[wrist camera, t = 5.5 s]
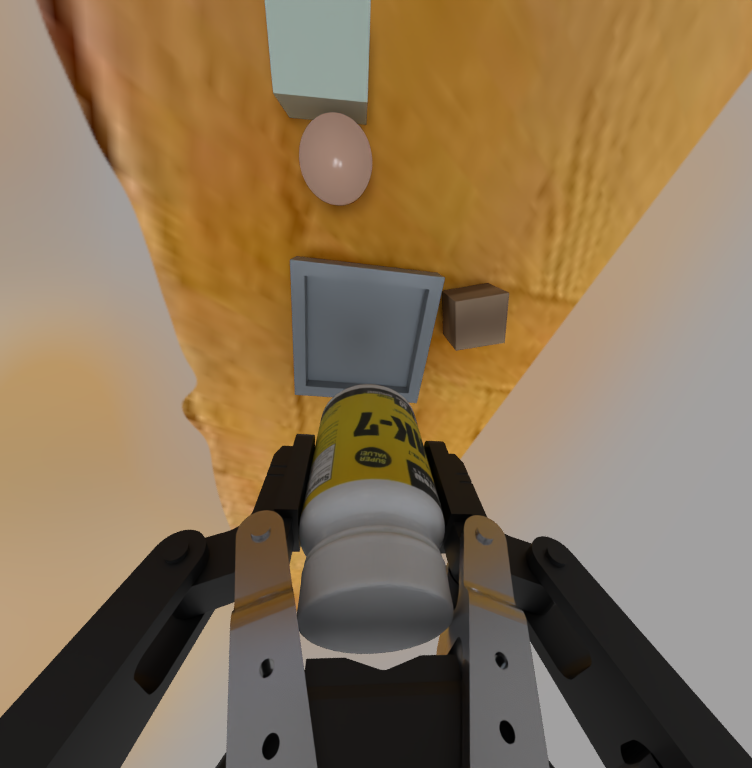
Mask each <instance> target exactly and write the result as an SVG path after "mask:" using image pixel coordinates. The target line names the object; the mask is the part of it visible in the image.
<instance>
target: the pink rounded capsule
mask: <svg viewBox="0 0 752 768" xmlns="http://www.w3.org/2000/svg"><path fill="white" fill-rule="evenodd" d="M299 161H300V167H301V171H302V175H303V177H304V179H305V182H306V183H307V185H308V187H309V188H310V189H311V191H312V192H313V193H314V194H315V195H316V196H317V197H318V198H320V199H321V200H323V201H325V202H327V203H330V204H334V205H348V204H351V203H353V202H355V201H356V200H357V199H358V198H359V197H360V196H361V195H362V193H363V192H364V190H365V188H366V187H367V185H368V183H369V180H370V176H371V172H372V153H371V148H370V145H369V142H368V140H367V137H366V135H365V133H364V132H363V130H362V129H361V127H360V126H359V125H358V124H357V123H356V122H355V121H354V120H352V119H351V118H350V117H348V116H346V115H344V114H341V113H336V112H329V113H324V114H321V115H319V116H318V117H316V118H315V119H314V120H312V121H311V122H310V124H309V125H308V126H307V128H306V129H305V131H304V133H303V136H302V138H301V142H300V148H299Z"/></svg>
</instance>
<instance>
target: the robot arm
mask: <svg viewBox="0 0 752 768" xmlns="http://www.w3.org/2000/svg"><path fill="white" fill-rule="evenodd" d="M424 449H425V453H426V456H427V460H428V463H429V466H430V470H431V474H432V477H433V480H434V484H435V487H436V491H437V495H438V498H439V501H440V504H441V508H442V513H443V517H444V523H445V534H444V539H443V543H442V545H441V547H440V549H439V550H440V553H446V557H447V561H448V563H447V565H446V572H447V577H448V582H449V588H450V594H451V598H452V603H453V609H454V614H453V620H452V623H451V624H450V626H449V627H448V628H447V629H446V630H445V631H444V632H443V633H441V634H440V637H439V641H438V647H437V654H436V655H422V656H418V657H416V658H414V659H412V660H409V661H407V662H404V663H402V664H400V665H397V666H395V667H392V668H390V669H387V670H379V669H377V668H373V667H371V666H368V665H365V664H362V663H359V662H356V661H353V660H350V659H347V658H320V659H306V666H305V670H304V665H303V658H302V651H301V643H300V635H299V628H298V620H297V613H296V606H295V598H294V592H293V587H292V581H291V573H290V566H289V565H290V560H291V555H292V552H300V546H301V544H300V540H299V522H300V516H301V511H302V507H303V502H304V497H305V493H306V488H307V483H308V479H309V474H310V469H311V464H312V459H313V455H314V450H315V435H308V434H297V435H296V438H295V441H294V444H293V446H282V447H281V448H280V449H279V450H278V451H277V452H276V453H275V454H274V456H273V459H272V462H271V464H270V467H269V470H268V472H267V476H266V478H265V480H264V483H263V486H262V489H261V491H260V494H259V497H258V499H257V502H256V505H255V507H254V510H253V512H252V514H251V515H250V516H248V517H247V518H246V519H245V520H244V521H243V522H242V523H241V524H240V526H238V527H236V528H235V529H232V530H230V531H227V532H224V533H220V534H217V535H213V536H210V537H206V538H205V537H204V536H203V535H202V533H200V532H198V531H196V530H183V531H180V532H177V533H174V534H172V535H170V536H168V537H167V538H165V539H164V540H163V541H162V542H160V543H159V544H158V545H157V546H156V547H155V548H154V549H153V550H152V551H151V553H150V554H149V555H148V556H147V557H146V558H145V559H144V560H143V561H142V563H141V564H140V565H139V566H138V567H137V568H136V569H135V570H134V571H133V572H132V573H131V575H130V576H129V577H128V578H127V579H126V580H125V581H124V582H123V583H122V584H121V586H120V587H119V588H118V589H117V590H116V591H115V592H114V593H113V594H112V595H111V597H110V598H109V599H108V600H107V601H106V602H105V603H104V604H103V605H102V606H101V608H100V609H99V610H98V611H97V612H96V613H95V614H94V615H93V616H92V617H91V619H90V620H89V621H88V622H87V623H86V624H85V625H84V626H83V627H82V628H81V630H80V631H79V632H78V633H77V634H76V635H75V636H74V637H73V638H72V640H71V641H70V642H69V643H68V644H67V645H66V646H65V647H64V648H63V649H62V650H61V652H60V653H59V654H58V655H57V656H56V657H55V658H54V659H53V661H51V663H50V664H49V665H48V666H47V667H46V668H45V669H44V670H43V671H42V672H41V674H40V675H39V676H38V677H37V678H36V679H35V680H34V681H33V682H32V683H31V685H30V686H29V687H28V688H27V689H26V690H25V691H24V692H23V693H22V695H21V696H20V697H19V698H18V699H17V700H16V701H15V702H14V703H13V705H11V707H10V708H9V709H8V710H7V711H6V712H5V713H4V714H3V715H2V716H1V718H0V768H120V767H121V766H122V764H123V762H124V761H125V759H126V757H127V756H128V754H129V752H130V751H131V749H132V747H133V746H134V744H135V742H136V741H137V739H138V737H139V735H140V734H141V732H142V731H143V729H144V727H145V726H146V724H147V722H148V720H149V719H150V717H151V716H152V714H153V712H154V710H155V709H156V707H157V706H158V704H159V702H160V700H161V699H162V697H163V695H164V694H165V692H166V690H167V689H168V687H169V685H170V684H171V682H172V680H173V679H174V677H175V675H176V674H177V672H178V670H179V669H180V667H181V665H182V663H183V662H184V660H185V659H186V657H187V655H188V653H189V652H190V650H191V649H192V647H193V645H194V644H195V642H196V640H197V639H198V637H199V635H200V633H201V632H202V630H203V629H204V627H205V625H206V624H207V622H208V620H209V619H210V617H211V615H212V614H213V612H214V610H215V609H217V608H219V607H222V606H225V605H228V604H230V603H233V602H235V604H234V610H233V611H232V615H231V623H230V650H229V682H228V683H229V684H228V720H227V752H226V753H225V755H224V756H223V757H222V759H221V760H220V762H219V763H218V765H217V766H216V768H554V767H553V765H552V764H551V763H550V761H549V760H548V755H547V748H546V742H545V736H544V729H543V724H542V716H541V710H540V704H539V697H538V691H537V685H536V678H535V671H534V665H533V659H532V652H531V646H530V642H531V643H532V645H533V647H534V648H535V650H536V652H537V653H538V655H539V657H540V658H541V660H542V662H543V663H544V665H545V667H546V668H547V670H548V672H549V673H550V675H551V677H552V678H553V680H554V682H555V684H556V685H557V687H558V689H559V690H560V692H561V694H562V695H563V697H564V699H565V700H566V702H567V703H568V705H569V707H570V709H571V710H572V712H573V714H574V715H575V717H576V719H577V720H578V722H579V724H580V725H581V727H582V729H583V730H584V732H585V734H586V735H587V737H588V738H589V740H590V742H591V744H592V745H593V747H594V749H595V750H596V752H597V754H598V755H599V757H600V759H601V760H602V762H603V764H604V765H605V767H606V768H752V758H751V757H750V756H749V754H748V753H747V752H746V751H745V750H744V749H743V748H742V746H741V745H740V744H739V743H738V742H737V741H736V740H735V739H734V737H733V736H732V735H731V734H730V733H729V732H728V731H727V729H726V728H725V727H724V726H723V725H722V724H721V723H720V721H718V719H717V718H716V717H715V716H714V715H713V713H711V711H710V710H709V709H708V708H707V707H706V705H705V704H704V703H703V702H702V701H701V700H700V699H699V697H698V696H697V695H696V694H695V693H694V692H693V691H692V690H691V688H690V687H689V686H688V685H687V684H686V683H685V681H684V680H683V679H682V678H681V677H680V676H679V675H678V673H677V672H676V671H675V670H674V669H673V668H672V667H671V666H670V664H669V663H668V662H667V661H666V660H665V659H664V658H663V657H662V655H661V654H660V653H659V652H658V651H657V650H656V648H655V647H654V646H653V645H652V644H651V643H650V642H649V640H647V638H646V637H645V636H644V635H643V634H642V632H641V631H640V630H639V629H638V628H637V627H636V626H635V624H634V623H633V622H632V621H631V620H630V619H629V618H628V616H627V615H626V614H625V613H624V612H623V611H622V610H621V609H620V607H619V606H618V605H617V604H616V603H615V602H614V601H613V599H612V598H611V597H610V596H609V595H608V594H607V593H606V591H605V590H604V589H603V588H602V587H601V586H600V585H599V583H598V582H597V581H596V580H595V579H594V578H593V577H592V575H591V574H590V573H589V572H588V571H587V570H586V569H585V567H583V565H582V564H581V563H580V562H579V561H578V559H577V558H576V557H575V556H574V555H573V554H572V553H571V552H570V551H569V550H568V548H566V547H565V546H564V545H562V544H561V543H560V542H558V541H556V540H554V539H552V538H549V537H543V536H542V537H537V538H536V539H535V540H534V541H533V542H532V544H531V543H528V542H525V541H522V540H519V539H516V538H513V537H510V536H508V535H506V534H504V533H503V531H502V529H501V528H500V527H499V526H498V525H497V524H496V523H495V522H494V521H492V520H491V519H489V518H487V516H486V514H485V511H484V509H483V507H482V504H481V502H480V500H479V498H478V495H477V493H476V491H475V488H474V486H473V484H472V483H471V479H470V477H469V475H468V473H467V470H466V468H465V466H464V463H463V462H462V461H461V460H460V459H459V458H458V457H457V456H456V455H455V454H449V453H448V451H447V448H446V446H445V443H444V442H441V441H426V442H425V444H424Z"/></svg>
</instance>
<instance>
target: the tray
mask: <svg viewBox="0 0 752 768" xmlns="http://www.w3.org/2000/svg"><path fill="white" fill-rule="evenodd" d="M290 272H291V299H292V327H293V354H294V382H295V395H308V396H322V397H334V396H335V395H337V394H338V393H340V392H341V391H343V390H345V389H347V388H350V387H353V386H356V385H362V384H373V385H379V386H384V387H387V388H390V389H392V390H394V391H396V392H397V393H399V394H400V395H402V396H403V397H404V398H405V399H406V400H407V401H408V402H410V403H417V399H418V395H419V390H420V386H421V382H422V377H423V373H424V368H425V364H426V359H427V355H428V351H429V346H430V342H431V337H432V333H433V328H434V324H435V320H436V315H437V311H438V306H439V302H440V297H441V293H442V289H443V284H444V280H445V277H443V276H442V275H440V274H438V273H435V272H426V271H418V270H409V269H401V268H392V267H384V266H375V265H367V264H358V263H350V262H342V261H333V260H325V259H316V258H308V257H299V256H296V257H294V258H292V259H290Z"/></svg>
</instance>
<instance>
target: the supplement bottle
mask: <svg viewBox="0 0 752 768" xmlns="http://www.w3.org/2000/svg"><path fill="white" fill-rule="evenodd" d="M444 534H445V523H444V517H443V513H442V508H441V504H440V501H439V498H438V495H437V491H436V487H435V484H434V480H433V477H432V474H431V470H430V466H429V463H428V460H427V456H426V453H425V449H424V446H423V443H422V439H421V436H420V433H419V429H418V426H417V422H416V418H415V415H414V412H413V410H412V408H411V406H410V404H409V403H408V401H407V400H406V399H405V398H404V397H403V396H402V395H400V394H399V393H397V392H396V391H394V390H392V389H390V388H387V387H384V386H379V385H373V384H362V385H356V386H353V387H350V388H347V389H345V390H343V391H341V392H340V393H338V394H337V395H335V396H334V397H333V398H332V399H331V400H330V401H329V403H328V404H327V406H326V407H325V409H324V411H323V414H322V418H321V422H320V427H319V431H318V436H317V441H316V446H315V450H314V455H313V459H312V464H311V469H310V474H309V479H308V483H307V488H306V493H305V497H304V502H303V507H302V511H301V516H300V522H299V540H300V544H301V547H302V549H303V552H304V554H305V555H306V560H305V564H304V568H303V571H302V577H301V587H300V595H299V603H298V610H297V620H298V628H299V631H300V633H301V634H302V635H303V636H304V637H305V638H306V639H307V640H309V641H310V642H311V643H313V644H315V645H318V646H320V647H323V648H326V649H330V650H333V651H340V652H345V653H356V654H373V653H385V652H393V651H398V650H403V649H407V648H411V647H414V646H417V645H420V644H423V643H426V642H428V641H430V640H432V639H434V638H435V637H437V636H439V635H440V634H441V633H443V632H444V631H445V630H446V629H447V628H448V627H449V626H450V624H451V623H452V620H453V614H454V609H453V603H452V598H451V594H450V588H449V582H448V577H447V572H446V565H445V562H444V560H443V558H442V555H441V553H440V550H439V549H440V547H441V545H442V543H443V539H444Z"/></svg>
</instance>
